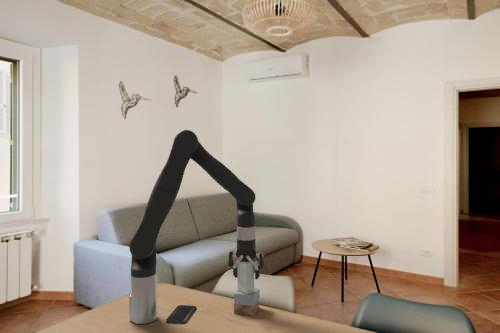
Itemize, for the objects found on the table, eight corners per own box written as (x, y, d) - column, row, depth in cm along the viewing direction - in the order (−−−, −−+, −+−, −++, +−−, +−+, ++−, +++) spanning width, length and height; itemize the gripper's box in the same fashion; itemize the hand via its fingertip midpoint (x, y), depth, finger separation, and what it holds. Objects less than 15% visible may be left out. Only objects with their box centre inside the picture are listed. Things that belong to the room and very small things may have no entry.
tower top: (234, 303, 143) (234, 293, 143) (240, 296, 151) (240, 286, 151) (254, 305, 141) (253, 295, 141) (259, 298, 148) (259, 288, 148)
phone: (196, 305, 149) (184, 321, 134) (196, 308, 149) (184, 324, 134) (178, 305, 150) (164, 320, 136) (178, 307, 150) (164, 323, 136)
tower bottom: (234, 314, 143) (233, 303, 143) (240, 306, 151) (240, 296, 151) (253, 316, 141) (253, 305, 141) (258, 308, 148) (258, 298, 148)
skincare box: (254, 291, 145) (254, 261, 144) (246, 294, 142) (246, 263, 142) (245, 287, 149) (244, 258, 149) (236, 290, 146) (236, 260, 146)
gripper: (226, 238, 143) (226, 279, 144) (261, 240, 140) (261, 282, 140) (232, 234, 151) (232, 273, 151) (265, 236, 147) (266, 276, 147)
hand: (246, 278), depth 145 cm, fingers open, 8 cm apart
